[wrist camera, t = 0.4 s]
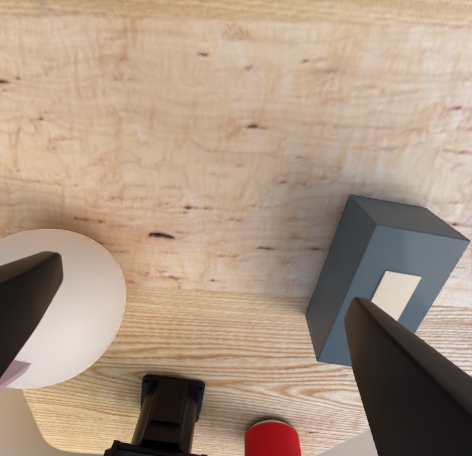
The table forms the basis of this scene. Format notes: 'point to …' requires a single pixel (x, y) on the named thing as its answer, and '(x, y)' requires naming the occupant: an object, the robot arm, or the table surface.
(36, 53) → the table surface
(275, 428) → the beverage can
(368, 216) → the tissue box
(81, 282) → the ornament
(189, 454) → the robot arm
